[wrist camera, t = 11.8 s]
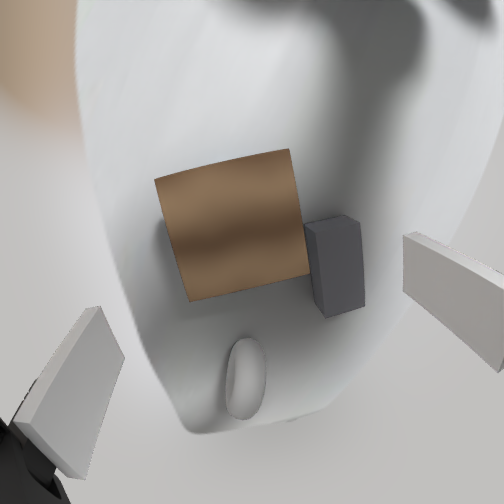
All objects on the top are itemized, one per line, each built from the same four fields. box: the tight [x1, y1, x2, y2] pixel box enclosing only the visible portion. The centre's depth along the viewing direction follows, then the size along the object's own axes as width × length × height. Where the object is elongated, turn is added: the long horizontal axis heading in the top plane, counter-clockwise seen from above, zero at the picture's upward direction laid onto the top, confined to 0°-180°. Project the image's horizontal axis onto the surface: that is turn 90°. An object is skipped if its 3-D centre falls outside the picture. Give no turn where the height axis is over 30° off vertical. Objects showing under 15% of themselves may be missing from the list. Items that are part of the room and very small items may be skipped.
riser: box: [304, 215, 365, 318], centre depth 32 cm, size 10×5×4 cm, turn 12°
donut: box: [225, 338, 266, 420], centre depth 32 cm, size 10×3×10 cm, turn 168°
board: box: [154, 149, 310, 302], centre depth 25 cm, size 11×11×2 cm
